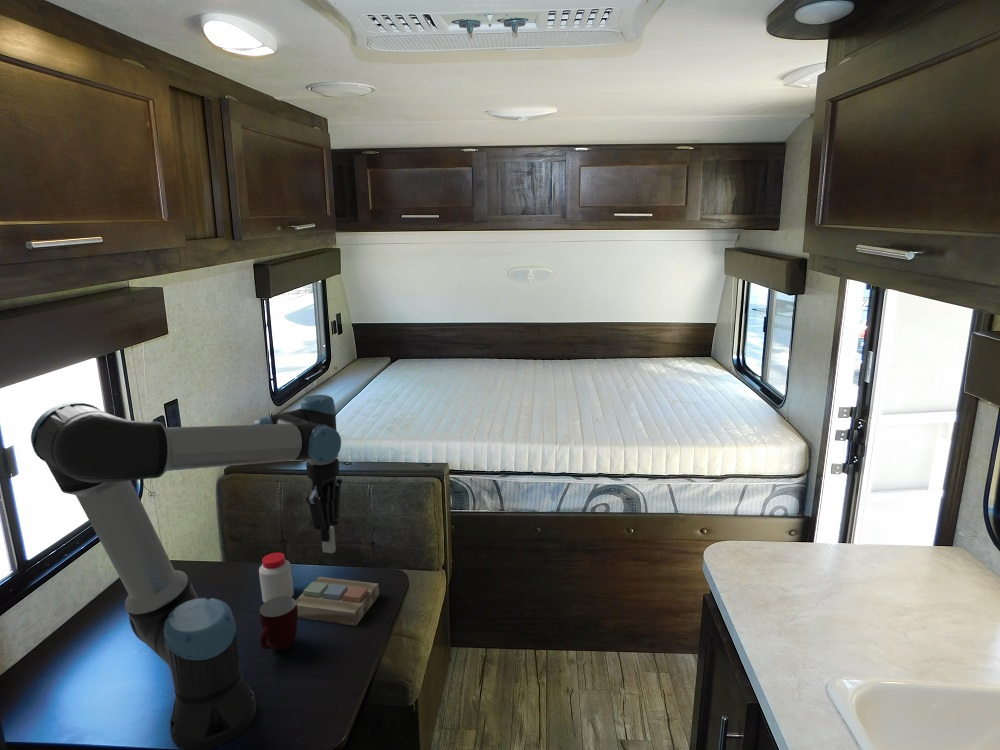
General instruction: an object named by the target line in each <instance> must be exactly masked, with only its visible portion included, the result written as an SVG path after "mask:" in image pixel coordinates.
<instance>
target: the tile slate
mask: <svg viewBox="0 0 1000 750" xmlns="http://www.w3.org/2000/svg"><path fill="white" fill-rule="evenodd" d="M347 591H348V586H346V585H338V584H331V585H330V586H329V587H328V589H327V590H326V591H325V592H324V593H323V597H324V599H331V600H339V601H340V600H341V599H342V598H343V595H344V594H345V593H346V592H347Z"/></svg>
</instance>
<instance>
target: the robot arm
mask: <svg viewBox="0 0 1000 750" xmlns="http://www.w3.org/2000/svg"><path fill="white" fill-rule="evenodd" d="M336 416H337V413H336V405H335V401H334V399H333V397H332V396H330V395H326V394H313V395H307V396H305V397H303V398H302V399H301V401H300V408H298V409H295V410H290V411H286V412H285V411H284V412H281V413H277V414H276V413H275V414H273V415H270V414H268V415H267V416H263V417H261V418H258V419H256V420H255V421H253V424H243V425H241V424H240V425H209V426H174V427H173V426H172V427H170V426H169V427H167V426H165V424H163V423H162V422H159V421H138V420H131V419H125V418H122V417H119V416H115V415H114V414H111V413H108V412H105V411H103V410H101V409H100V408H98V407H96V406H94V405H92V404H89V403H85V402H84V403H83V402H67V403H62V404H59V405H55V406H53V407H51V408H49V409H48V410H46V411H45V412H44V413H42V414H41V415H40V416H39V417H38V419H37V420H36V422H35V423H34V425H33V427H32V429H31V433H30V442H31V446H32V449H33V452H34V453H35V455H36V456H37V457H38V458H39V459H40V460H42V461H43V462H45V464H46V465H47V467H48V469H49V471H50V473H51V474H52V476H53V478H54V480H55V482H56V484H57V485H58V486H59V488H60V491H61V492H62V493H64V494H68V495H73V496H75V497H76V498H77V500H78V501H79V504H80V506H81V508H82V510H83V512H84V514H85V515H86V517H87V519H88V521H89V523H90V525H91V527H92V529H93V530H94V532H95V533H96V535H97V538H98V539H99V541H100V543H101V545H102V548H103V549H104V550H105V552H106V554H107V557H108V559H109V560H110V562H111V564H112V566H113V568H114V570H115V571H116V573H117V575H118V577H119V579H120V580H121V582H122V585H123V586H124V588H125V590H126V592H127V594H128V595H127V597H126V599H125V601H124V607H125V610H126V612H127V613H128V620H129V622H128V623H129V624H130V625H129V626H130V628H131V630H132V632H133V633H134V635H135V636H136V638H138V639H139V640H140V641H141V642H143V643H144V644H145V645H146V646H147V647H148V648H150V649H151V650H152V651H153V652H154V653H155V654H156V655H157V656H158V657H159V658H160V659H161V660H163V662H165V663H166V665H168V667H169V669H170V673H171V677H172V678H171V679H172V684H173V689H174V695H175V698H174V703H173V707H172V713H171V717H170V721H169V729H170V735H171V736H170V737H171V739H172V742H173V743H175V744H176V745H177V746H176V745H175V744H174V745H175V746H176V747H177V748H179V747H180V749H182V750H212V749H215V748H219V747H221V746H223V745H226V744H228V743H229V742H231V741H233V740H235V739H236V738H237V737H238V736H240V735H241V734H242V733H243V732H244V731H246V730H247V729H248V728H249V726H250V725H251V723H253V720H254V719H255V717H256V713H257V703H256V697H255V694H254V692H253V690H252V689H251V687H250V686H249V683H247V681H246V678H245V677H244V675H243V673H242V668H241V660H240V652H239V647H238V646H239V645H238V637H237V626H236V620H235V617H234V616H233V611H232V609H231V607H230V606H229V605H228V604H227V603H226V602H225V601H223V600H221V599H217V598H214V597H211V598H209V599H208V598H207V597H198V595H197V594H196V591H195V588H194V587H193V585H192V583H191V581H190V579H189V576H188V575H187V574H186V572H185V571H183V570H177V569H175V568H174V565H173V564H172V562H171V560H170V558H169V556H168V553H167V551H166V550H165V548H164V546H163V544H162V542H161V540H160V537H159V535H158V533H157V532H156V529H155V527H154V525H153V523H152V521H151V519H150V517H149V515H148V513H147V511H146V508H145V507H144V505H143V503H142V501H141V499H140V497H139V495H138V493H137V490H136V488H135V486H134V484H133V483H132V482H133V481H138V480H146V479H148V480H149V479H157V478H160V477H161V478H162V476H163V475H164V474H165V473H166V472H169V471H170V472H173V471H182V470H183V471H184V470H193V469H194V470H195V469H207V468H216V467H217V468H219V467H220V468H221V467H231V466H240V465H243V466H244V465H254V464H256V465H257V464H267V463H278V462H291V461H303V460H304V461H306V464H305V465H306V466H305V467H306V476H307V478H308V479H309V480H311V482H312V483H311V494H310V495H307V496H306V498H305V500H306V502H307V504H308V506H309V510H310V514H311V518H312V522H313V523H312V524H313V526H314V527H313V528H314V529H315V530H320V534H321V535H320V536H321V547H322V553H328V554H333V553H335V552H336V551H337V550H336V549H337V548H336V538H335V537H336V536H335V535H336V534H335V533H336V532H335V526H337V525H338V524H339V521H336V520H339V518H340V501H341V487H342V483H343V480H342V479H341V478H337V477H338V476H339V474H340V462H339V459H338V458H339V453H340V450H341V447H342V438H341V437H342V436H341V435H340V433H339V431H338V430H337V417H336Z"/></svg>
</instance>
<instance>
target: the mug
mask: <svg viewBox="0 0 1000 750" xmlns="http://www.w3.org/2000/svg"><path fill="white" fill-rule="evenodd" d="M296 600H297V599H296V598H293V597H292V598H291V597H277V598H273V599H271V600H269V601H267V602H265V603H264V602H263V604H261V605H260V606H259V609H258V612H259V620H260V624H261V627H262V631H261V633H260V634H261V635H260V639H259V642H260V646H261V648H262V649H264V650H270V649H274V650H275V651H278V652H282V651H285V650H287V649H289V648H290V647H292V645H293V643H294V640H295V638H296V635H297V631H298V630H297V629H298V628H297V627H298V610H297V603H296Z"/></svg>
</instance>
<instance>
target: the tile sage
mask: <svg viewBox="0 0 1000 750" xmlns="http://www.w3.org/2000/svg"><path fill="white" fill-rule="evenodd" d="M327 589H328V583H321V582H314V581H311V583H309V585H307V586H306V587H305V588H304V590H303V591H302V593H304V596H307V597H315V598H321V597H322V595H323V593H324V592H325V591H326V590H327Z"/></svg>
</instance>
